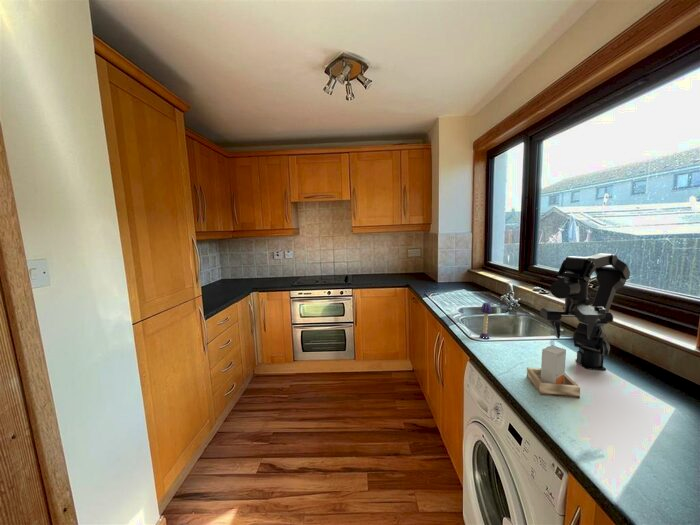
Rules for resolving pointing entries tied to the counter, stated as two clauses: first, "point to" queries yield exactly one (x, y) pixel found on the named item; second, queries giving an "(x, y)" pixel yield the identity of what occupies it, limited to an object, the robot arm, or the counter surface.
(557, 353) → the skincare box
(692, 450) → the counter surface
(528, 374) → the wooden tray
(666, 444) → the counter surface
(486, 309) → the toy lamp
